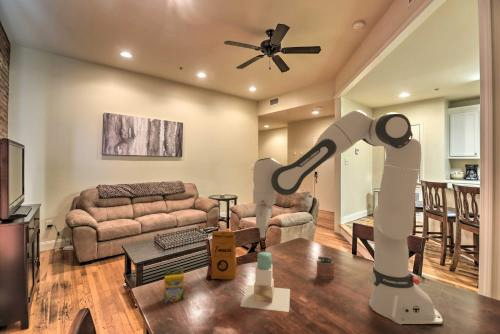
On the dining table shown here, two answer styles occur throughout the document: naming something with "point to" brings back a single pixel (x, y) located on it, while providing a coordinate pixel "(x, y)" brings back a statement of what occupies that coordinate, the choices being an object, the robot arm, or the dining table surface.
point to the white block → (264, 276)
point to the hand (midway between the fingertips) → (264, 233)
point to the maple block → (264, 292)
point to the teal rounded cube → (264, 260)
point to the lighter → (325, 268)
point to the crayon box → (174, 285)
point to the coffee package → (223, 255)
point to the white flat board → (278, 304)
